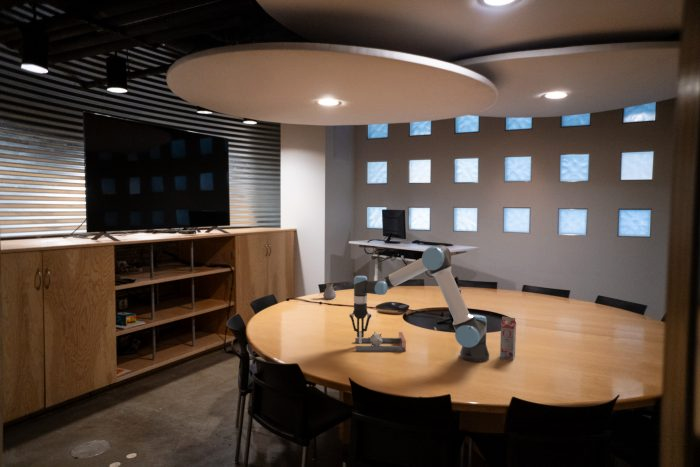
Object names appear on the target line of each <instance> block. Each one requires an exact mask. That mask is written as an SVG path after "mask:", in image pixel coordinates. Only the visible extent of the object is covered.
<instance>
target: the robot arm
mask: <svg viewBox="0 0 700 467" xmlns="http://www.w3.org/2000/svg"><path fill="white" fill-rule="evenodd" d="M451 259H452V252H451V250H450V249H449V248H448V247H447V246H446V245H443V244H437V245H434V246H433V245H432V246H429V247H427V248H426V249H425V250H424V251H423V253H422V256H421V258H418V259H417V260H415V261H413V262H411V263H409V264H407V265H405V266H404V267H402V268H400V269H397V270H396V271H394V272H391V273H389V274H388V275H386V276H384V277H382V278H379V279H376V280H369V279H368V277H367V276H366V275H355V276H354V278H353V311H352V313H350V314H349V316H348V317H349V318H350V319H351V324H352V328H353V331H354V332H356V336H357V337H356V338H359V343H358V344H360V345H361V344H363V343H362V338H365V337H364V335H365V333H364V332H367V330H368V326H369V323H370V319H371V318H372V314H371V313H369V312H368V304H367V302H368V294H371V295H378V296H381V295H382V296H384V295H386V294H387V292H388V291H389V290H392V288H394V287H397V286H398V285H400V284H403V283H404V282H406V281H409V280H411V279H412V278H414V277H416V276H418V275H421V274H422V273H424V272H427V271H428V272H429V273H430V275H431V276H432V277H434V279H435V281H436V282H437V285H438V287H439V289H440V291H441V293H442V296H443V298H444V302H445V303H446V305H447V307H448V309H449V312H450V314H451V316H452V318H453V322H452V326H453V328H454V330H455V333H454V337H455V340H456V342H457V344H459V345H461V348H460V351H459V353H460V354H459V357H460V358H461V359H463V360H465V361H468V362H469V361H470V362H474V363H482V362H488V361H489V360H490V353H489V350H488V345H487V324H488V321H487V316H485V315H480V314H471V313H470V311H469V310H468V307H467V305H466V303H465V300H464V299H463V295H462V294H461V291H460V289H459V286H458V284H457V283H456V280H455V278H454V276H453V274H452V264H451ZM354 317H355V318H356V323H355V318H354ZM365 318H366V322H365V323H364V320H365ZM360 320H361V322H360ZM360 323H361V327H360ZM364 324H365V325H364ZM360 328H361V330H360Z"/></svg>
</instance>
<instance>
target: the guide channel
mask: <svg viewBox="0 0 700 467" xmlns="http://www.w3.org/2000/svg"><path fill="white" fill-rule="evenodd" d="M382 339H383V341H384V342H382V343H381V344H399V345H379V346H373V345H372V346H371V345H355V352H406V351H407V348H406V347H407V346H406V345H407V343H406V342H407V340H406V338H405V335H404V334H403V332H402V331H398V337H382ZM354 340H355V341H354V343H355V344H359V337H355V339H354ZM362 344H371V341H370V337H369V338H368V337H362Z"/></svg>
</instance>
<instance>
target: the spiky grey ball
mask: <svg viewBox="0 0 700 467" xmlns="http://www.w3.org/2000/svg"><path fill="white" fill-rule="evenodd" d="M367 338H370V341H371V343H370V344H371V345H370V346H381V345H382V344H383V343H382V342H384V341H383V339H382V338H383V336H382V333H376V331H374V333H372V335H370V337H367Z"/></svg>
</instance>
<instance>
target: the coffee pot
mask: <svg viewBox="0 0 700 467" xmlns="http://www.w3.org/2000/svg"><path fill="white" fill-rule="evenodd" d="M325 285H326V288H325V289H324V291H323V295H322V297H323V298H324V299H325V300H334V299H335V298H336V296H337V294H336V292H335V290H334V289H335V288H337V287H340V286H343V285H344V286H346V283H345V282H343V283H339V284H337V285H336V286H333V285H334V283H330V282H329V283H326V284H325Z"/></svg>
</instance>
